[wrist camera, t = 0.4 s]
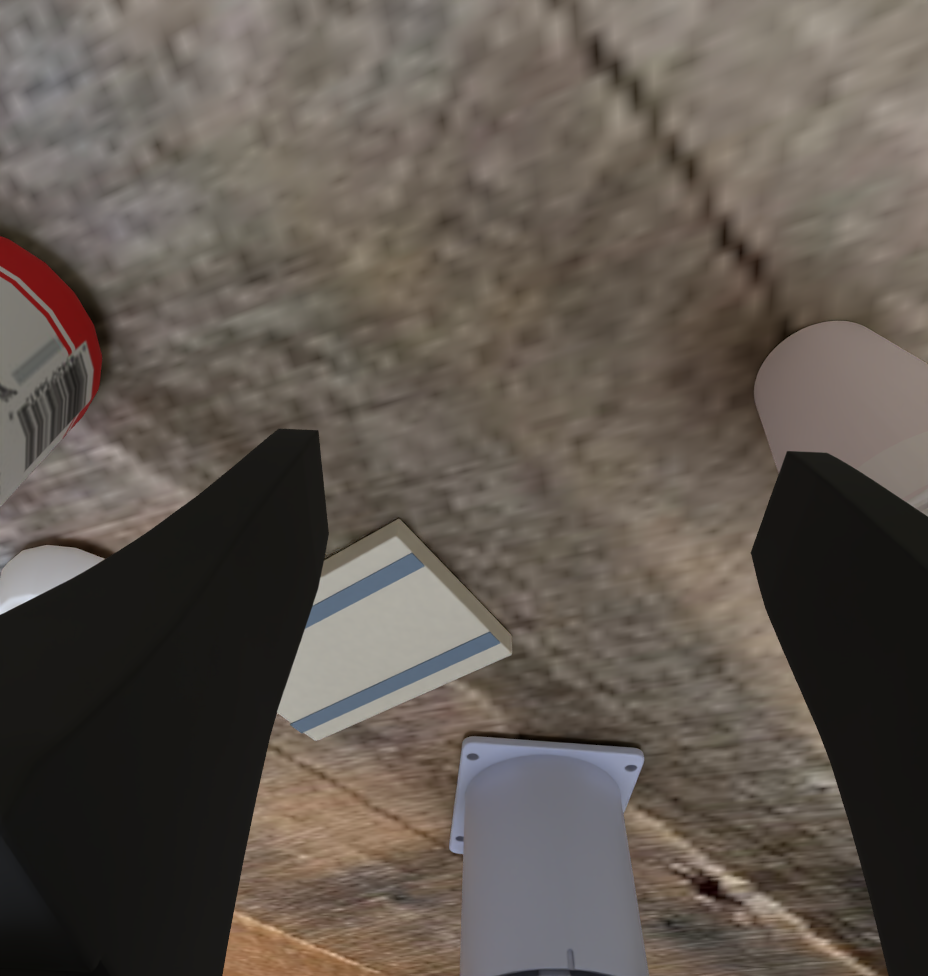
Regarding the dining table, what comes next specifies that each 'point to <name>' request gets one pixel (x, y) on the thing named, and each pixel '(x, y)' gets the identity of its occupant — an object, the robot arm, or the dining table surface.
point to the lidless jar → (40, 572)
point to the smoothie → (849, 404)
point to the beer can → (40, 363)
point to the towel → (385, 634)
